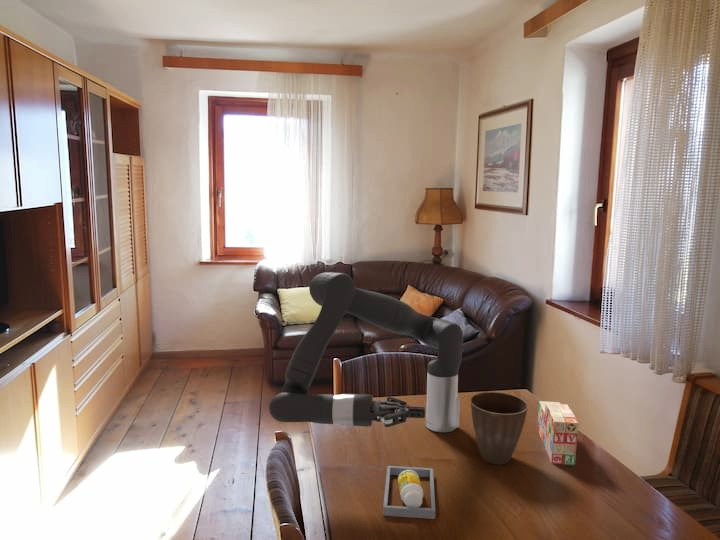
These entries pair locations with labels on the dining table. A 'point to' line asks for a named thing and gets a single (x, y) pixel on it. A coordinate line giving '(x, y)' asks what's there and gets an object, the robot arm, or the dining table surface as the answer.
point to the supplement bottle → (410, 488)
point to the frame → (409, 511)
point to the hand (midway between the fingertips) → (424, 412)
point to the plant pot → (497, 424)
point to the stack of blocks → (558, 432)
